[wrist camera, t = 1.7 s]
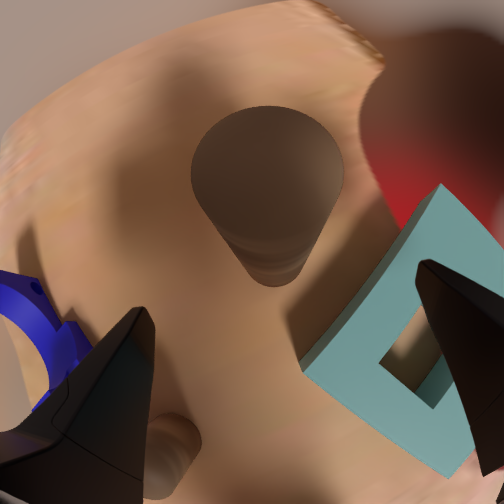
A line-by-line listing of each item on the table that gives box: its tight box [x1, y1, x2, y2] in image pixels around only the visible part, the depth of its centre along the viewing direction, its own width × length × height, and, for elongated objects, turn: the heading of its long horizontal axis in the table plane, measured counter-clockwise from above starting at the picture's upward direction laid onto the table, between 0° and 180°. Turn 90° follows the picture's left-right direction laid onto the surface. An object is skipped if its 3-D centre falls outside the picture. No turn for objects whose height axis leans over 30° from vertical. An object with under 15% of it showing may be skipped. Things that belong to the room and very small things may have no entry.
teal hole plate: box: [298, 184, 504, 479], centre depth 15 cm, size 15×15×4 cm
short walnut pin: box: [143, 413, 202, 500], centre depth 14 cm, size 4×4×6 cm
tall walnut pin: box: [191, 106, 344, 287], centre depth 13 cm, size 4×4×12 cm
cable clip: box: [0, 270, 93, 412], centre depth 17 cm, size 12×4×6 cm, turn 44°
